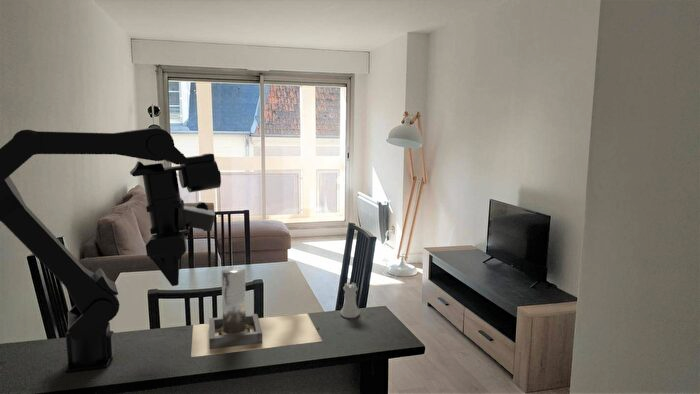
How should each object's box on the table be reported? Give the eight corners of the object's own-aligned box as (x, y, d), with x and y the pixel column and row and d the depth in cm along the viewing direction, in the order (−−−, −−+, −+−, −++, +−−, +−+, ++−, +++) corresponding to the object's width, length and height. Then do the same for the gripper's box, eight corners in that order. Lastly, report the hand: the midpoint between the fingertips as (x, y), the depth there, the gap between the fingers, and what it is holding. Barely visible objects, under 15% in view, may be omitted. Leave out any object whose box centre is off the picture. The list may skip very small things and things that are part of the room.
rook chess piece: (351, 324, 98) (352, 289, 97) (335, 319, 101) (336, 284, 100) (363, 318, 102) (364, 283, 100) (348, 313, 104) (348, 279, 103)
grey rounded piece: (219, 343, 86) (217, 276, 84) (218, 330, 92) (216, 267, 90) (251, 339, 88) (250, 274, 86) (248, 327, 94) (247, 265, 92)
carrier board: (191, 362, 81) (190, 346, 81) (193, 329, 94) (192, 315, 94) (322, 346, 88) (322, 331, 88) (307, 317, 101) (307, 304, 101)
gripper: (209, 199, 77) (222, 286, 80) (208, 184, 94) (219, 255, 98) (138, 209, 74) (154, 298, 77) (151, 191, 91) (164, 264, 95)
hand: (176, 277), depth 87 cm, fingers open, 9 cm apart
